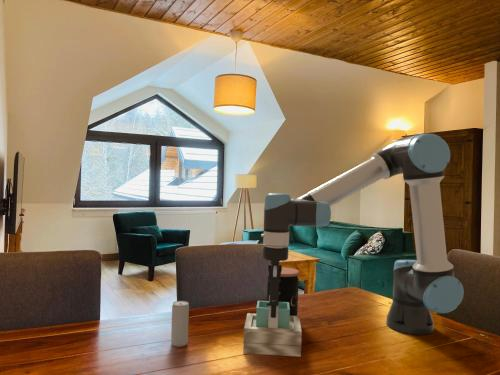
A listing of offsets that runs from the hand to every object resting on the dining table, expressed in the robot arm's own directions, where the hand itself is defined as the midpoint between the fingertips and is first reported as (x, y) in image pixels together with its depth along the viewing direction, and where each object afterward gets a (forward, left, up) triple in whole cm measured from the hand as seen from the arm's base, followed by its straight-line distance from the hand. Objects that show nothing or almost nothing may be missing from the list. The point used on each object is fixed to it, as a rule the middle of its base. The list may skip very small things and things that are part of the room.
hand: (272, 322), depth 120 cm
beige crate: (0, 0, -7) cm, 7 cm away
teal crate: (0, 0, -1) cm, 1 cm away
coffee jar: (-3, -20, -7) cm, 21 cm away
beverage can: (+27, +3, -7) cm, 28 cm away
